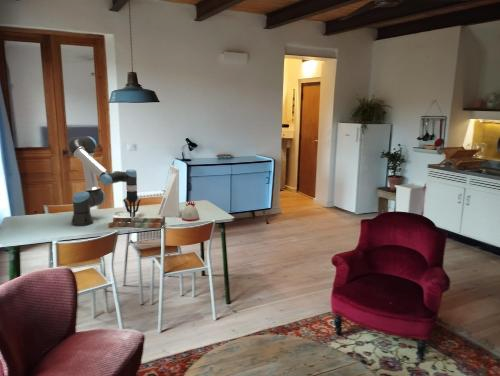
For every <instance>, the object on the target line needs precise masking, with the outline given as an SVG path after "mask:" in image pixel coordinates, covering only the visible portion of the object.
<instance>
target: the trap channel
mask: <svg viewBox="0 0 500 376" xmlns="http://www.w3.org/2000/svg"><path fill="white" fill-rule="evenodd" d="M134 219H144V223H133V222H131V217H113V218H112V222H107V223H108V228H110V229H111V228H112V229H113V227H134V228H133V229H141V228H142V229H162V228H161V227H162V226H163V225H165V224H166V217H165V216H163V217H161V218H160V217H134ZM119 222H130V223H119ZM163 227H164V226H163Z"/></svg>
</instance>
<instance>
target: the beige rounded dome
mask: <svg viewBox="0 0 500 376" xmlns="http://www.w3.org/2000/svg"><path fill="white" fill-rule="evenodd" d="M198 211H199V210H198V209H197V208H196V203H195V202H194V201H193V202H192V201H190V200H189V201H187V203H185V207H184V209H183V210H182V215H181V220H182V221H184V222H196V221H199V219H200V214H199V212H198Z"/></svg>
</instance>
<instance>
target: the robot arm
mask: <svg viewBox="0 0 500 376" xmlns="http://www.w3.org/2000/svg"><path fill="white" fill-rule="evenodd" d="M67 149H68V151H69V153H70V154H71V155H72V156H73V157H74V158H78V160H79V161H80V162H81V163H82V164H81V165H82V169H83V175H84V182H85V186H86V187H85V189H84V190H83V191H77V192H75V193H73V195H72V208H73V210H72V211H73V215H72V218H71V221H70V222H71V226H77V227H86V226H89V225H92V224H94V219H93V216H92V214H91V208H95V207H98V206H100V205H102V204H103V203H104V202H105V201H106V194H105V192H104V191H103V190H102V189H101V187H100V186H99V182H100V183H101V185H103V186H107V185H113V184H116V183H120V182H122V183H126V185H125V186H126V187H125V188H126V197H125V198H124V199H122V202H123V203H124V206H125V209H126V212H127V213H129V218H131V222H133V220H134V218H136V213H138V211H139V207H140V202H141V201H142V200H141V199H140V198H139V197H138V191H137V190H138V183H137V182H138V178H137V177H138V174H137V169H126V170H125V171H120V170H116V171H113V172H110V171H108V170H107V169H106V167H104V166H103V165H102V164H101V163H100V162H99V161H97V160H96V158H95V157H94V155H95V153H96V152H95V151H96V149H97V141H96V140H95V138H93V137H91V136H88V135H87V136H86V135H85V136H78V137H77V136H75V137H72V138H70V139H69V140H68V142H67ZM98 178H99V182H98ZM136 202H137V204H136ZM128 204H129V205H128Z"/></svg>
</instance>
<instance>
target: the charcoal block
mask: <svg viewBox="0 0 500 376" xmlns="http://www.w3.org/2000/svg"><path fill="white" fill-rule="evenodd" d="M133 223H144V219H134V220H133Z"/></svg>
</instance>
